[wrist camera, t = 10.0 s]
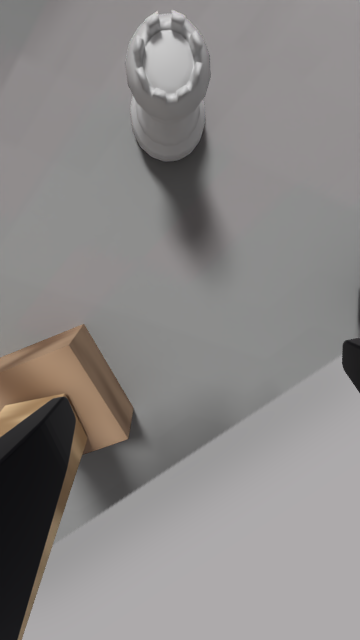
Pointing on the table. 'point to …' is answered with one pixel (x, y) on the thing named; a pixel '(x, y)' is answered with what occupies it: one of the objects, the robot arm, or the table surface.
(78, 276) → the table surface
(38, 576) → the oak pillar
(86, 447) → the light brown block
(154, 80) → the rook chess piece
